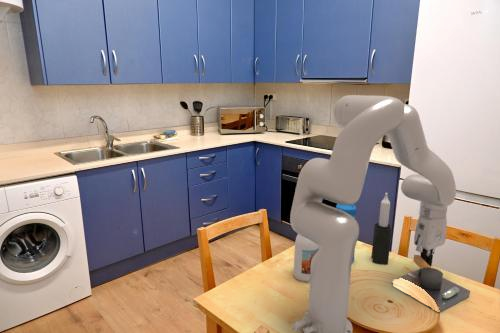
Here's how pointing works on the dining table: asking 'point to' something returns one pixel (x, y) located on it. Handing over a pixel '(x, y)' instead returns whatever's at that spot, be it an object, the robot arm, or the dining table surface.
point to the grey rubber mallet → (428, 274)
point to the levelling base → (441, 291)
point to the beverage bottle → (350, 210)
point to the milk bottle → (304, 257)
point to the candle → (382, 235)
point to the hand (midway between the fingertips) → (425, 264)
